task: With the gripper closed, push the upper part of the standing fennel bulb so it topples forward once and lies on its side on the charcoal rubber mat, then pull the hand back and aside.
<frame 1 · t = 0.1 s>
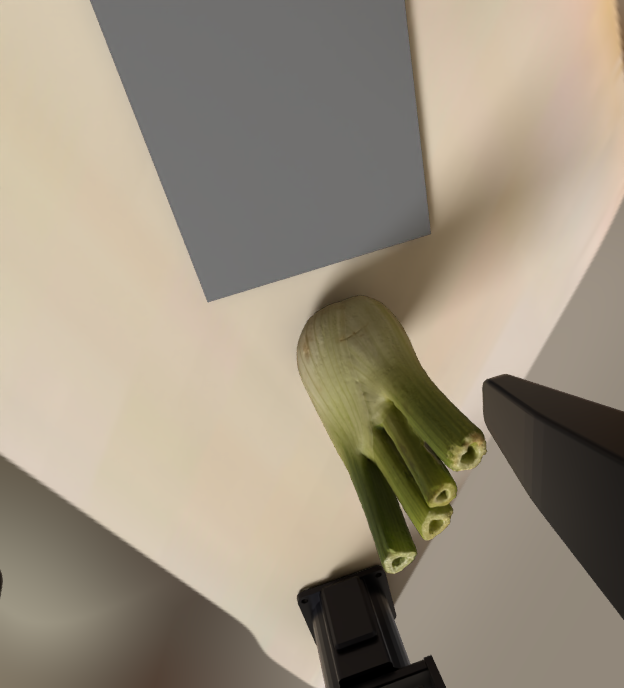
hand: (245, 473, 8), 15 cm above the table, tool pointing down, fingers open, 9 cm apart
fennel bulb: (335, 334, 24), on the table
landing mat: (286, 130, 19), on the table
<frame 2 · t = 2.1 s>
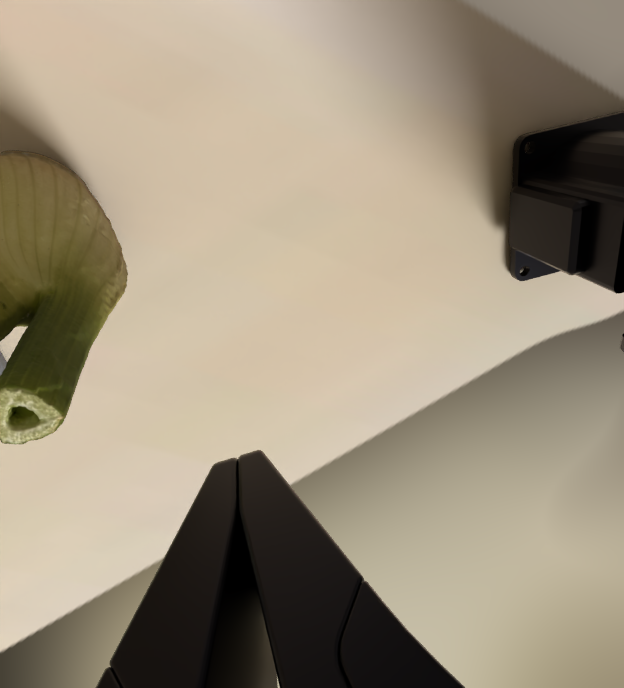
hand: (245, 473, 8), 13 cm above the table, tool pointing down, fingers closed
fennel bulb: (51, 222, 17), on the table
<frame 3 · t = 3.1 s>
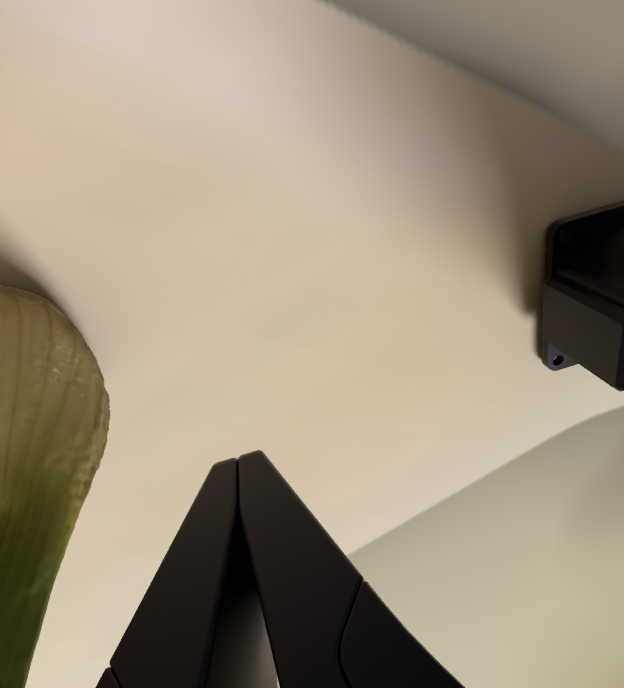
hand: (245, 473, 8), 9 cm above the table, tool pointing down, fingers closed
fennel bulb: (26, 344, 16), on the table
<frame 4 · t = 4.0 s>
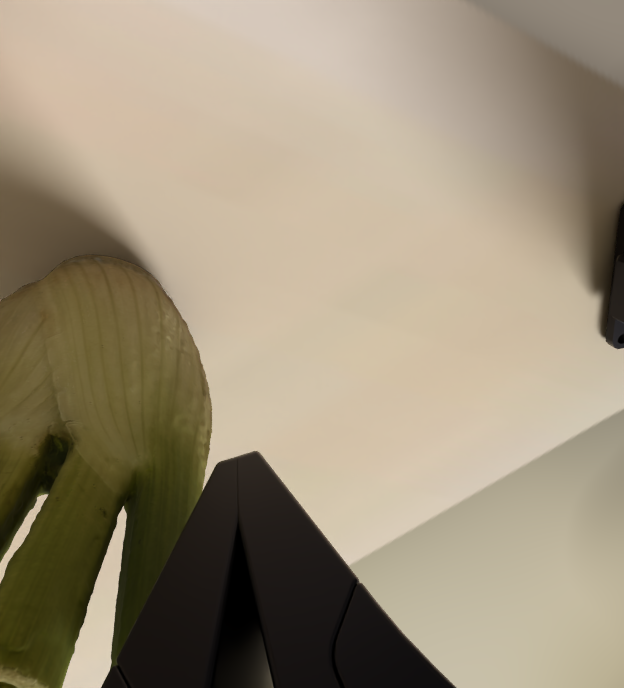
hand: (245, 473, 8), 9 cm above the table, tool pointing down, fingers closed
fennel bulb: (120, 317, 16), on the table, touching gripper
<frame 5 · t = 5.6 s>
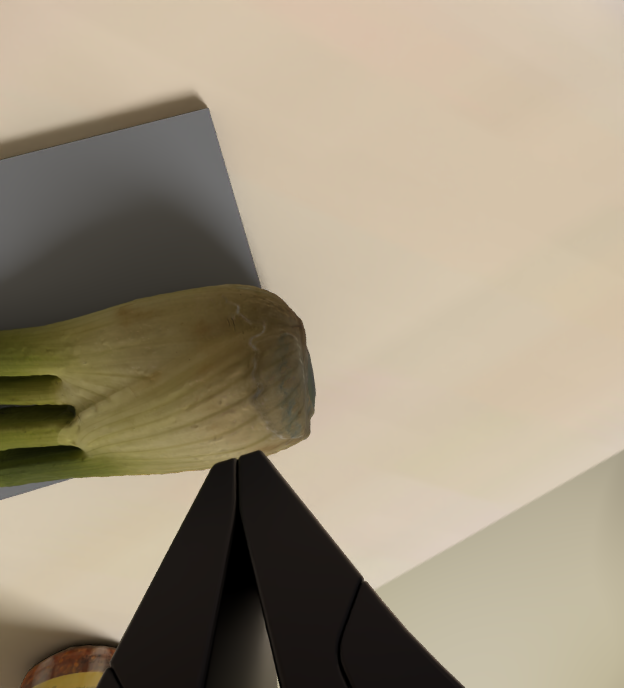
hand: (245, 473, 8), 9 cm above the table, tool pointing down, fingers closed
fennel bulb: (320, 368, 14), point 3 cm above the table, touching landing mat
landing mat: (88, 328, 16), on the table
sauce bottle: (91, 668, 24), on the table
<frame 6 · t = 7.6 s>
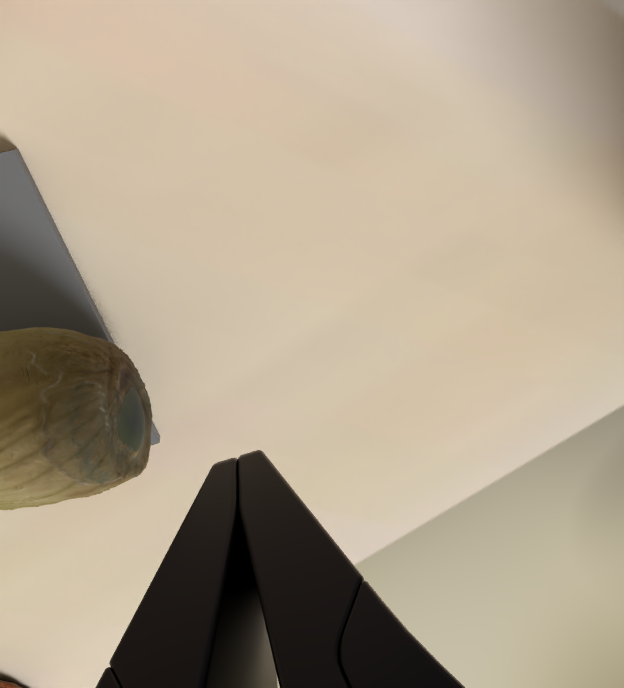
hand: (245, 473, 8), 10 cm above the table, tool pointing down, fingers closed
fennel bulb: (144, 408, 14), point 3 cm above the table, touching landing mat
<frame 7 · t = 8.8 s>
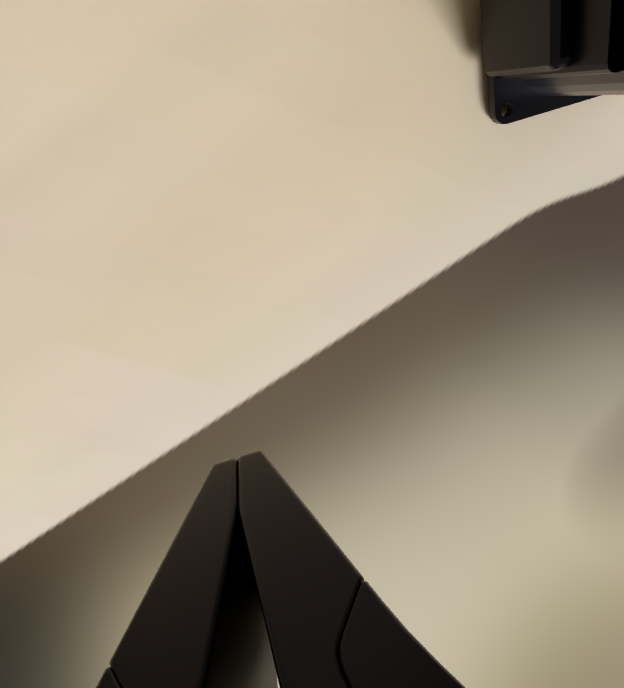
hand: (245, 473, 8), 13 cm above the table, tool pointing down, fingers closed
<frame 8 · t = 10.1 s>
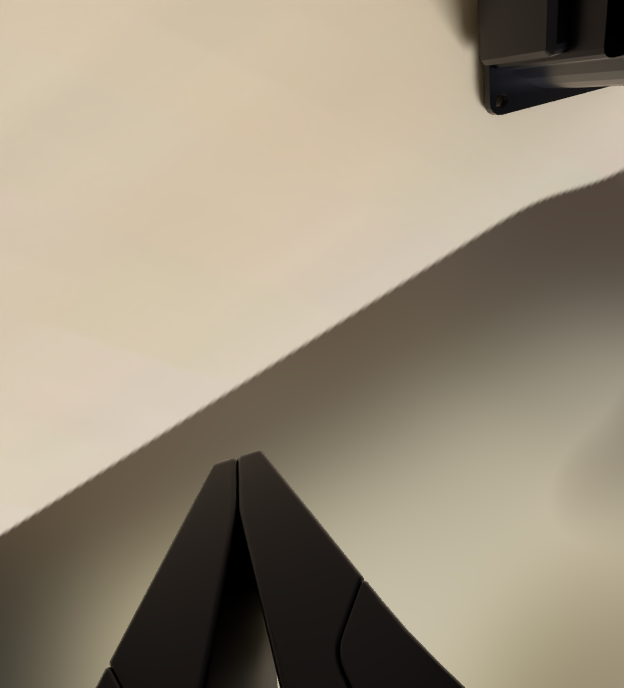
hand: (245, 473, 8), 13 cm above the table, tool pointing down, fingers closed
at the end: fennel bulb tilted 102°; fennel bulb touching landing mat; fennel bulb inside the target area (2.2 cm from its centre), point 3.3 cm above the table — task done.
